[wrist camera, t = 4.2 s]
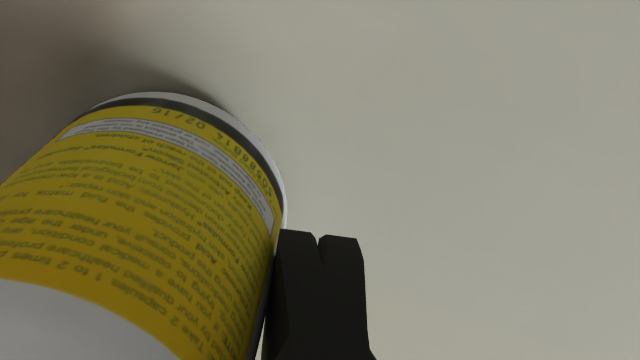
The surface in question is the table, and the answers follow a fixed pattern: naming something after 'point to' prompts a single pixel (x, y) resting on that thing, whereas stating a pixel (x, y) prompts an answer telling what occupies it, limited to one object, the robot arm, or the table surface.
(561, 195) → the table surface
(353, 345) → the robot arm
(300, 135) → the table surface
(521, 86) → the table surface
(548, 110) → the table surface
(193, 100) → the supplement bottle
